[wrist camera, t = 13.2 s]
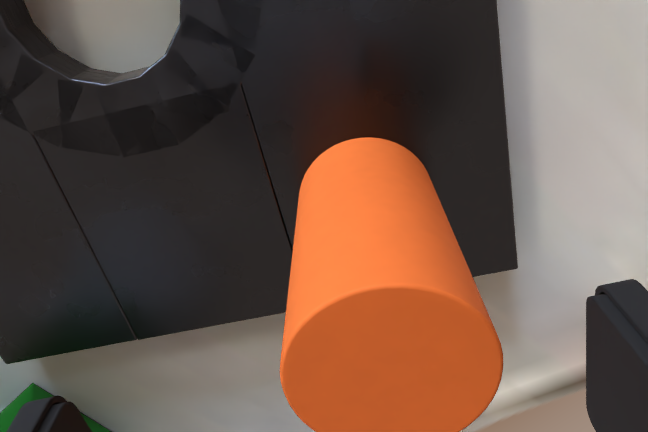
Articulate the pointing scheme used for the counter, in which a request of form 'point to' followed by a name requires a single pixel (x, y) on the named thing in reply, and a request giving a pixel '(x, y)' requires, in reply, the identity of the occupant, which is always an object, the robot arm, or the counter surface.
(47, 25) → the counter surface
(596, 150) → the counter surface
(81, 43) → the counter surface
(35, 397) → the milk carton
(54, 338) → the sink plate
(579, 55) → the counter surface
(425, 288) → the plug
